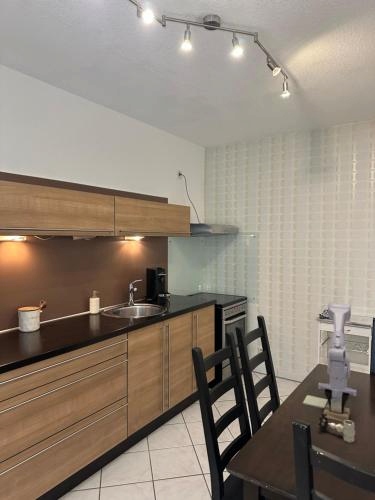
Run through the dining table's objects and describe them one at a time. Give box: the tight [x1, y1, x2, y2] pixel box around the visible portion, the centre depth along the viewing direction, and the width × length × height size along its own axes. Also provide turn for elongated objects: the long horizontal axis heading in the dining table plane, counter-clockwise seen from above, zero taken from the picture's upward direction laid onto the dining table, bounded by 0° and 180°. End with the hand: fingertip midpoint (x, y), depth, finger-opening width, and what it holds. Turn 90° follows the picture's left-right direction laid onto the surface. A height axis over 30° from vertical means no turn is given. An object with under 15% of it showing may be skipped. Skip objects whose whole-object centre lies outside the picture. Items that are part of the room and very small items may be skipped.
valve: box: [318, 412, 356, 444], centre depth 130 cm, size 7×7×12 cm
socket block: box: [322, 403, 351, 423], centre depth 146 cm, size 9×9×2 cm
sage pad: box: [302, 394, 328, 409], centre depth 158 cm, size 9×9×1 cm
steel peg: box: [331, 396, 343, 415], centre depth 146 cm, size 4×4×7 cm
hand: (336, 408), depth 146 cm, fingers closed on steel peg, 4 cm apart
